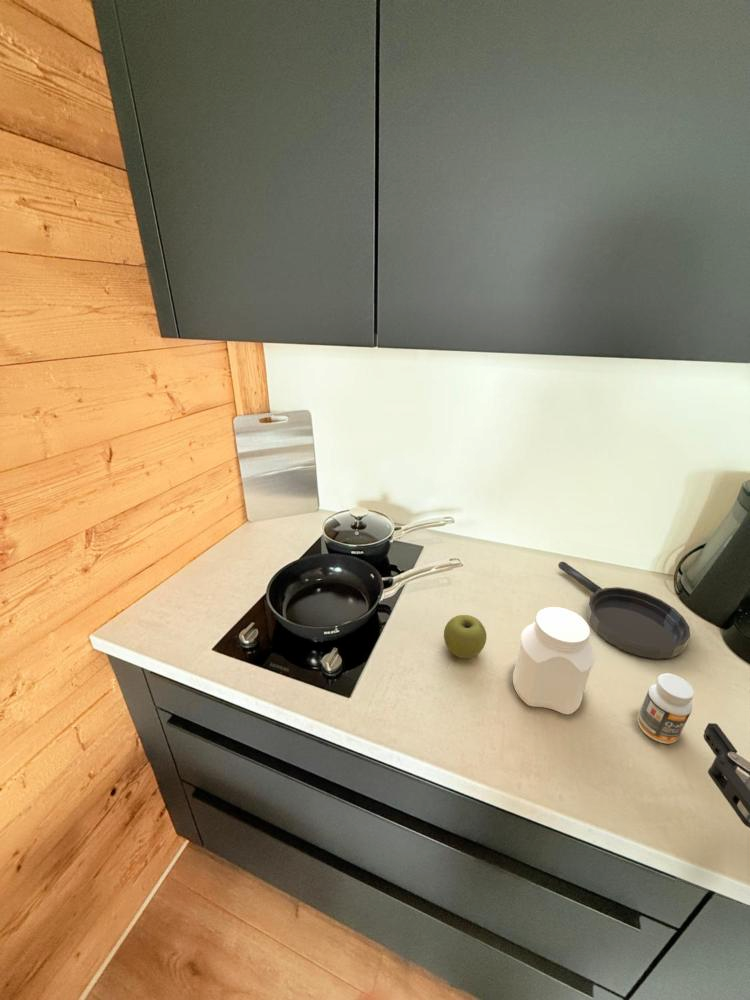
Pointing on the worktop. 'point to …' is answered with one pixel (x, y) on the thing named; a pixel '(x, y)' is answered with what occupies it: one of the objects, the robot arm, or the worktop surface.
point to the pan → (638, 622)
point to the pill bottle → (666, 708)
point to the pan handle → (579, 577)
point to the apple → (465, 636)
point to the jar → (554, 661)
